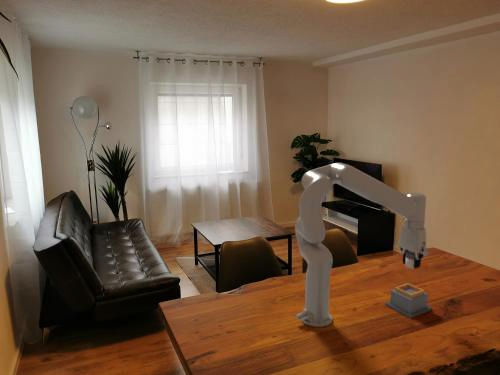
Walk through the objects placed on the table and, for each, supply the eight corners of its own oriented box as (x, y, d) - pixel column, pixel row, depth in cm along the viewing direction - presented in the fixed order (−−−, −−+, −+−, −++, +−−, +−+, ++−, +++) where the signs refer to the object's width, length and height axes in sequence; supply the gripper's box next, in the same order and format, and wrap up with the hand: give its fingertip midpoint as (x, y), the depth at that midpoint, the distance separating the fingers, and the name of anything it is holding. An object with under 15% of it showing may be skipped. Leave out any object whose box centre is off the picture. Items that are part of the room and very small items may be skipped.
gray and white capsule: (412, 269, 160) (413, 255, 159) (402, 265, 164) (403, 252, 163) (420, 267, 162) (421, 253, 161) (410, 263, 166) (411, 250, 165)
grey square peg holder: (410, 318, 159) (412, 299, 157) (384, 305, 170) (386, 286, 168) (432, 309, 166) (433, 290, 164) (406, 297, 177) (407, 279, 175)
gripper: (391, 220, 165) (388, 260, 168) (426, 230, 150) (423, 274, 154) (403, 217, 168) (400, 257, 172) (438, 227, 154) (435, 270, 158)
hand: (411, 264), depth 163 cm, fingers closed on gray and white capsule, 4 cm apart
